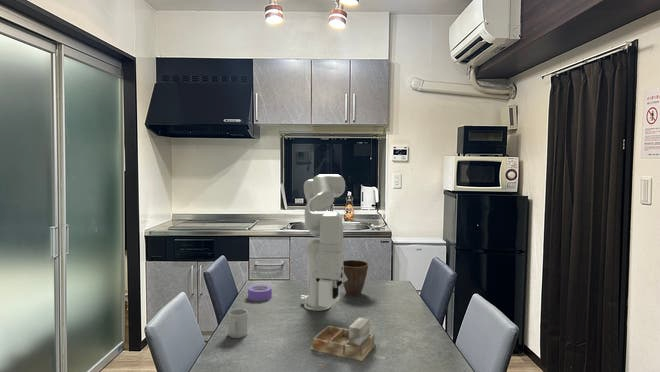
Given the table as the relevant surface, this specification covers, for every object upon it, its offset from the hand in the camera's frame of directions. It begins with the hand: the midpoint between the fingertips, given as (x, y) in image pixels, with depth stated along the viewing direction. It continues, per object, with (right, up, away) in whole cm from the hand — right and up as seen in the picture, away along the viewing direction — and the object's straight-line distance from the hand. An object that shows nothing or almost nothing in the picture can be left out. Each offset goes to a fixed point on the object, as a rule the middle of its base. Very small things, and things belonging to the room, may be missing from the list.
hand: (329, 296), depth 151 cm
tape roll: (-35, -15, +54) cm, 66 cm away
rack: (+5, -18, -2) cm, 19 cm away
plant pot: (+12, -16, +62) cm, 65 cm away
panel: (0, -2, 0) cm, 2 cm away
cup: (-36, -17, +7) cm, 40 cm away
